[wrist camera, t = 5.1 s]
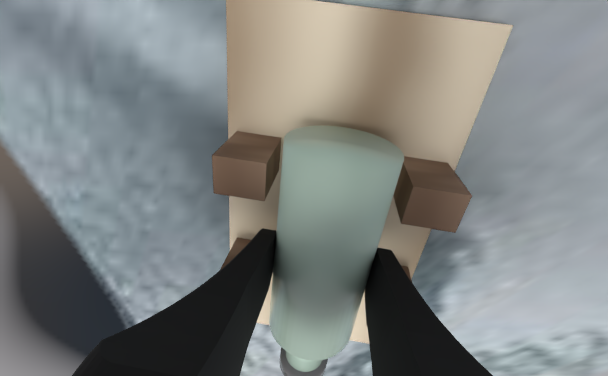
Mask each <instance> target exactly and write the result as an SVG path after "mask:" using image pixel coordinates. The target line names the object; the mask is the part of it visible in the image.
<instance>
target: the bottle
mask: <svg viewBox="0 0 608 376" xmlns="http://www.w3.org/2000/svg"><path fill="white" fill-rule="evenodd" d="M403 162H404V154H403V152H402V151H401V150H400V149H399V148H398V147H397V146H396V145H394V144H393V143H391V142H390V141H388V140H386V139H384V138H382V137H379V136H377V135H374V134H371V133H368V132H364V131H361V130H356V129H352V128H346V127H339V126H324V125H318V126H306V127H301V128H297V129H294V130H292V131H290V132H288V133H287V134H286V135H285V137H284V144H283V156H282V168H281V180H280V193H279V205H278V217H277V229H276V242H275V254H274V266H273V278H272V290H271V302H270V314H269V324H270V329H271V332H272V334H273V337H274V338H275V340H276V342H277V343H278V344H279V345H280V346H281V354H280V367H281V370H282V372H283V374H284V376H323V374H324V372H325V368H326V364H327V360H328V358H331V357H333V356H335V355H337V354H338V353H340V352H341V351H342V350H343V349H344V348H345V346H346V345H347V343H348V342H349V339H350V337H351V334H352V330H353V327H354V324H355V320H356V317H357V314H358V310H359V307H360V304H361V301H362V297H363V294H364V291H365V287H366V284H367V281H368V277H369V274H370V271H371V267H372V264H373V261H374V258H375V254H376V251H377V248H378V244H379V241H380V238H381V234H382V231H383V228H384V225H385V221H386V218H387V215H388V211H389V208H390V205H391V201H392V198H393V195H394V191H395V188H396V185H397V182H398V178H399V175H400V172H401V168H402V165H403Z"/></svg>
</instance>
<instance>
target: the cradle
mask: <svg viewBox="0 0 608 376" xmlns="http://www.w3.org/2000/svg"><path fill="white" fill-rule="evenodd" d="M226 16H227V84H228V140H227V141H226V142H225V143H224V144H223V145H222V146H221V147H220V148H219V149H218V150H217V151H216V152H215V153H214V154H213V155H212V165H213V188H214V193H215V194H221V195H228V196H229V220H230V252H229V254H228V256H227V258H226V260H225V262H224V263H223V265H222V267H221V269H222V268H223V267H224V266H226V265H227V264H228V263H229V262H230V261H231V260H232V259H233V258H234V257H235V256H236V255H237V254H238V253H239V252H240V251H241V250H242V249H243V248H244V247H245V246H246V245H247V244H248V243H249V242H250V241H251V240H252V239H253V238H254V236H255V235H256V234H257V233H258V232H259V231H260V230H261V229H262V228H264V229H270V230H276V229H277V217H278V205H279V193H280V180H281V168H282V156H283V144H284V137H285V135H286V134H287V133H288V132H290V131H292V130H294V129H297V128H301V127H306V126H318V125H324V126H339V127H346V128H352V129H356V130H361V131H364V132H368V133H371V134H374V135H377V136H379V137H382V138H384V139H386V140H388V141H390V142H391V143H393V144H394V145H396V146H397V147H398V148H399V149H400V150H401V151H402V152H403V154H404V162H403V165H402V168H401V172H400V175H399V178H398V182H397V185H396V188H395V191H394V195H393V198H392V201H391V205H390V208H389V211H388V215H387V218H386V221H385V225H384V228H383V231H382V234H381V238H380V241H379V244H378V248H383V249H389V250H392V252H393V253H394V255H395V256H396V258H397V260H398V261H399V263H400V265H401V266H402V268H403V270H404V271H405V273H406V274H407V276H408V277H409V279H410V281H411V282H412V280H411V279H412V276H413V274H414V271H415V269H416V266H417V264H418V261H419V259H420V256H421V254H422V251H423V249H424V246H425V244H426V241H427V239H428V236H429V234H430V231H431V229H436V230H442V231H448V232H454V233H455V232H456V230H457V228H458V226H459V223H460V221H461V219H462V217H463V215H464V213H465V210H466V208H467V206H468V204H469V202H470V199H471V197H472V195H471V194H470V192H469V191H468V189H467V188H466V187H465V185H464V184H463V183H462V181H461V180H460V179H459V177H458V176H457V174H456V173H455V169H456V167H457V164H458V162H459V159H460V157H461V154H462V152H463V149H464V147H465V144H466V142H467V139H468V137H469V134H470V132H471V129H472V127H473V124H474V122H475V119H476V117H477V114H478V112H479V109H480V107H481V105H482V102H483V100H484V97H485V95H486V92H487V90H488V87H489V85H490V82H491V80H492V77H493V75H494V72H495V70H496V67H497V65H498V62H499V60H500V57H501V55H502V52H503V50H504V47H505V45H506V42H507V40H508V37H509V35H510V32H511V30H512V27H513V25H507V24H499V23H491V22H482V21H474V20H466V19H458V18H450V17H442V16H434V15H426V14H418V13H410V12H402V11H394V10H386V9H378V8H370V7H362V6H354V5H346V4H338V3H330V2H322V1H314V0H226ZM221 269H220V270H221ZM272 278H273V274H272ZM272 278H271V282H270V286H269V290H268V293H267V295H266V298H265V301H264V304H263V306H262V309H261V312H260V314H259V317H258V320H257V322H256V323H261V324H266V325H270V324H269V314H270V302H271V290H272ZM349 340H352V341H357V342H363V343H368V344H369V335H368V327H367V319H366V310H365V291H364V294H363V297H362V301H361V304H360V307H359V310H358V314H357V317H356V320H355V324H354V327H353V330H352V334H351V337H350V339H349Z"/></svg>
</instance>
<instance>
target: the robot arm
mask: <svg viewBox="0 0 608 376" xmlns="http://www.w3.org/2000/svg"><path fill="white" fill-rule="evenodd" d="M275 242H276V230H270V229H264V228H262V229H261V230H260V231H259V232H258V233H257V234H256V235H255V236H254V238H253V239H252V240H251V241H250V242H249V243H248V244H247V245H246V246H245V247H244V248H243V249H242V250H241V251H240V252H239V253H238V254H237V255H236V256H235V257H234V258H233V259H232V260H231V261H230V262H229V263H228V264H227V265H226V266H224V267H223V268H222V269H221V270H220V271H219V272H218V273H216V274H215V275H214V276H213V277H211V278H210V279H209V280H208V281H206V282H205V283H204V284H202V285H201V286H200V287H198V288H197V289H195V290H194V291H193V292H191V293H190V294H188V295H187V296H185V297H184V298H182V299H181V300H179V301H177V302H176V303H174V304H173V305H171V306H169V307H168V308H166V309H164V310H162V311H160V312H159V313H157V314H155V315H153V316H151V317H150V318H148V319H146V320H144V321H142V322H140V323H138V324H136V325H134V326H132V327H130V328H128V329H126V330H123V331H121V332H119V333H117V334H115V335H113V336H110V337H108V338H106V339H103V340H102V341H101V342H100V343H99V344H98V345H97V346H96V347H95V348H94V349H93V350H92V352H90V354H89V355H88V356H87V357H86V358H85V360H84V361H83V362H82V364H81V365H80V366H79V367H78V368H77V370H76V371H75V372H74V374H73V375H72V376H240V372H241V368H242V365H243V361H244V357H245V354H246V350H247V347H248V344H249V341H250V338H251V336H252V333H253V330H254V328H255V325H256V322H257V320H258V317H259V314H260V312H261V309H262V306H263V304H264V301H265V298H266V295H267V293H268V290H269V286H270V282H271V278H272V274H273V266H274V254H275ZM365 310H366V319H367V327H368V335H369V344H370V352H371V360H372V371H373V376H493V375H492V374H490V373H489V372H488V371H487V370H486V369H485V368H484V367H483V366H482V365H481V364H480V363H479V362H478V361H477V360H476V359H475V358H474V357H473V356H472V355H471V354H470V353H469V352H468V351H467V350H466V349H465V348H464V347H463V346H462V345H461V344H460V343H459V342H458V341H457V340H456V339H455V338H454V336H453V335H452V334H451V333H450V332H449V331H448V330H447V328H446V327H445V326H444V325H443V324H442V323H441V321H440V320H439V319H438V318H437V317H436V315H435V314H434V313H433V312H432V310H431V309H430V308H429V306H428V305H427V304H426V302H425V301H424V299H423V298H422V297H421V295H420V294H419V292H418V291H417V289H416V288H415V286H414V285H413V284H412V282H411V281H410V279H409V277H408V276H407V274H406V273H405V271H404V270H403V268H402V266H401V265H400V263H399V261H398V260H397V258H396V256H395V255H394V253H393V252H392V250H389V249H383V248H377V251H376V254H375V258H374V261H373V264H372V267H371V271H370V274H369V277H368V281H367V284H366V287H365Z"/></svg>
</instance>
